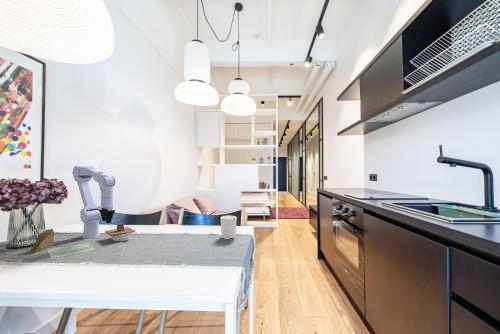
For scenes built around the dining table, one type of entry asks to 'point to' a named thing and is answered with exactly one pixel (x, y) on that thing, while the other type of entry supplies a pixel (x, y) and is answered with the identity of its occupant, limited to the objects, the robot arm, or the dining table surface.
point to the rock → (43, 241)
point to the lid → (119, 230)
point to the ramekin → (120, 237)
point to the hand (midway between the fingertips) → (106, 221)
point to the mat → (70, 250)
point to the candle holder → (228, 226)
